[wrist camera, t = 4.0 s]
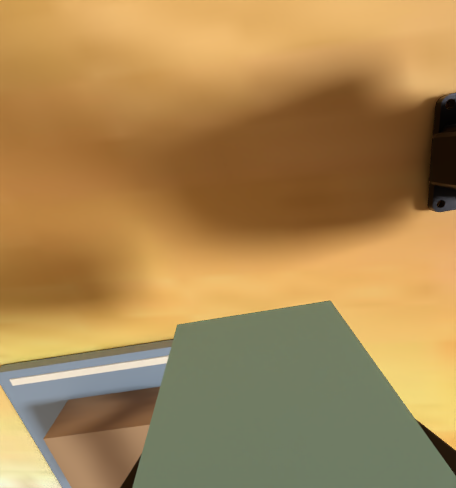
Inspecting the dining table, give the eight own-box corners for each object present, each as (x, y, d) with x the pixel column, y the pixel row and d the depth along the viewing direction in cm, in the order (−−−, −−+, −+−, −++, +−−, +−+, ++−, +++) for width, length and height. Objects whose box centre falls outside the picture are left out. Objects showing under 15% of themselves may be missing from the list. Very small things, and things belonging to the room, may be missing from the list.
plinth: (180, 383, 20) (172, 421, 17) (203, 461, 23) (200, 504, 20) (68, 399, 21) (43, 439, 18) (105, 473, 24) (88, 517, 21)
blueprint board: (283, 322, 19) (285, 330, 19) (301, 464, 25) (303, 476, 24) (2, 365, 20) (-8, 374, 20) (76, 492, 26) (71, 504, 25)
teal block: (330, 300, 8) (550, 609, 3) (336, 413, 10) (482, 754, 4) (177, 324, 9) (85, 655, 3) (207, 431, 10) (186, 777, 5)
